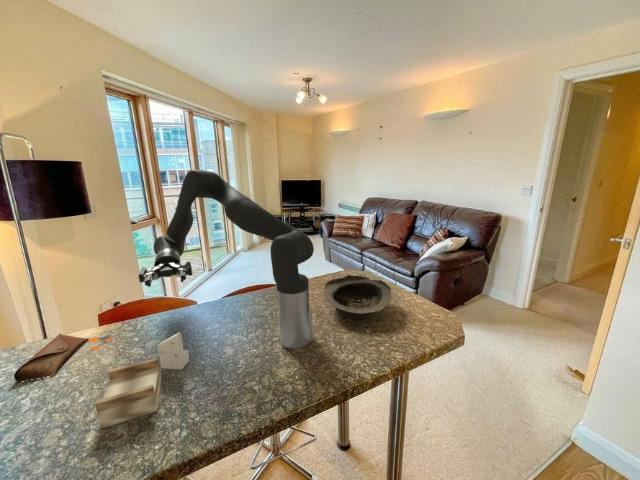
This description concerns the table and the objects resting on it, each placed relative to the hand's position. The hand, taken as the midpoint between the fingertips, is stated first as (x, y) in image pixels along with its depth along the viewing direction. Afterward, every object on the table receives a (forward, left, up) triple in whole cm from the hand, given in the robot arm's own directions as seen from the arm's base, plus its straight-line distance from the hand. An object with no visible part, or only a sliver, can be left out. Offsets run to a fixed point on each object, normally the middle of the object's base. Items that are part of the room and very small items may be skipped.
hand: (165, 281), depth 81 cm
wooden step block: (+8, +21, -20) cm, 30 cm away
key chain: (+22, -11, -21) cm, 32 cm away
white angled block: (0, +11, -20) cm, 23 cm away
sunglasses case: (+31, -7, -21) cm, 38 cm away
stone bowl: (-60, +7, -21) cm, 64 cm away
